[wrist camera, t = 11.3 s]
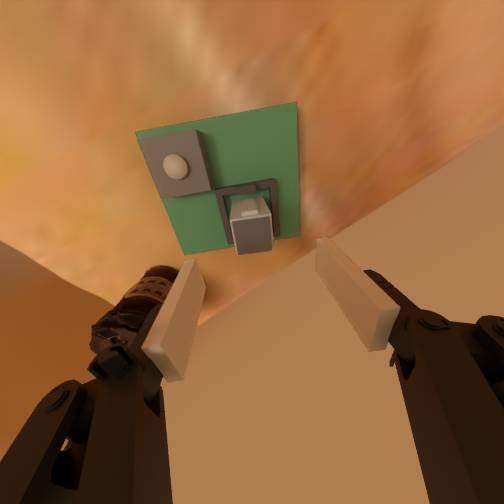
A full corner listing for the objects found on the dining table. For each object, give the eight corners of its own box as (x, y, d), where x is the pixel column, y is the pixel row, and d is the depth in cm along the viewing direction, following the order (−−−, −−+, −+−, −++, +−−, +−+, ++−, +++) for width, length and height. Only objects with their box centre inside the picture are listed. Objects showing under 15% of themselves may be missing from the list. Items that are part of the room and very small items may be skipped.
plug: (231, 196, 24) (228, 216, 16) (261, 192, 24) (271, 210, 16) (237, 227, 26) (236, 257, 19) (264, 223, 26) (274, 251, 19)
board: (143, 133, 21) (118, 128, 17) (292, 105, 21) (305, 93, 17) (187, 248, 29) (178, 265, 25) (296, 230, 29) (306, 244, 25)
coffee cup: (142, 251, 29) (80, 315, 18) (193, 266, 31) (166, 331, 20) (136, 290, 33) (82, 363, 22) (182, 301, 35) (155, 373, 23)
